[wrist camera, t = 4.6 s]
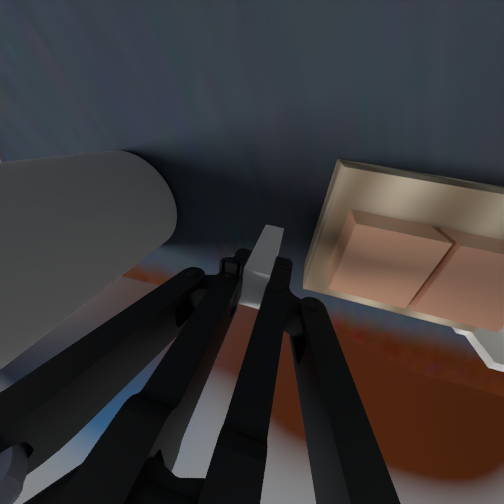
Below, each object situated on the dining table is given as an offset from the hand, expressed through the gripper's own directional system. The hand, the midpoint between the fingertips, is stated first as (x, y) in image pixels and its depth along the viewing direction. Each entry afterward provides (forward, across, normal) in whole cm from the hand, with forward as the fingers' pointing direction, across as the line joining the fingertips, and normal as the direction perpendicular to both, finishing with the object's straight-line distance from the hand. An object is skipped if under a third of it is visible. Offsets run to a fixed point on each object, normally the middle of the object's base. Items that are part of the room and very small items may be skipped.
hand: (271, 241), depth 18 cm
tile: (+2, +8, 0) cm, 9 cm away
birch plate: (+7, +12, 0) cm, 14 cm away
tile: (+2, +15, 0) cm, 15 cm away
